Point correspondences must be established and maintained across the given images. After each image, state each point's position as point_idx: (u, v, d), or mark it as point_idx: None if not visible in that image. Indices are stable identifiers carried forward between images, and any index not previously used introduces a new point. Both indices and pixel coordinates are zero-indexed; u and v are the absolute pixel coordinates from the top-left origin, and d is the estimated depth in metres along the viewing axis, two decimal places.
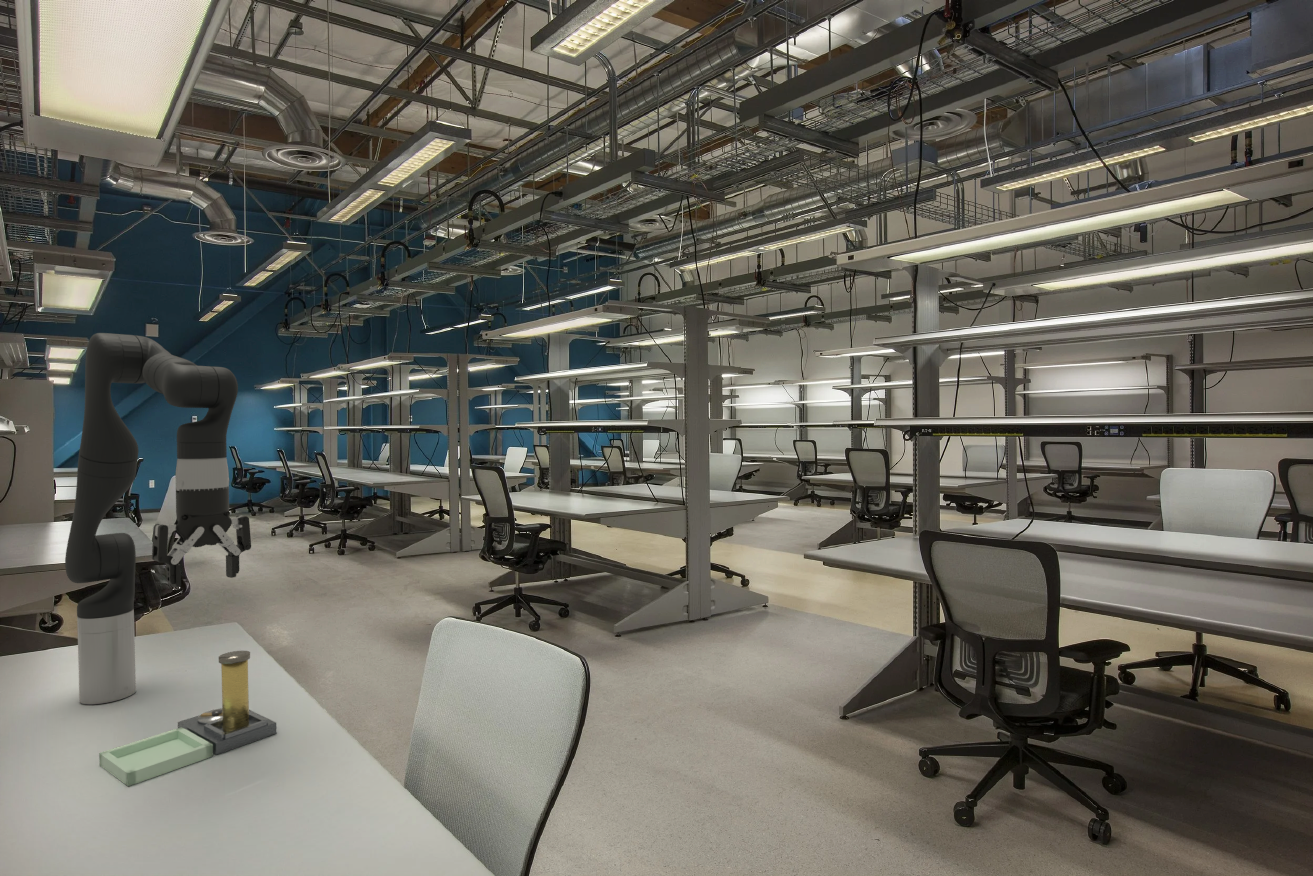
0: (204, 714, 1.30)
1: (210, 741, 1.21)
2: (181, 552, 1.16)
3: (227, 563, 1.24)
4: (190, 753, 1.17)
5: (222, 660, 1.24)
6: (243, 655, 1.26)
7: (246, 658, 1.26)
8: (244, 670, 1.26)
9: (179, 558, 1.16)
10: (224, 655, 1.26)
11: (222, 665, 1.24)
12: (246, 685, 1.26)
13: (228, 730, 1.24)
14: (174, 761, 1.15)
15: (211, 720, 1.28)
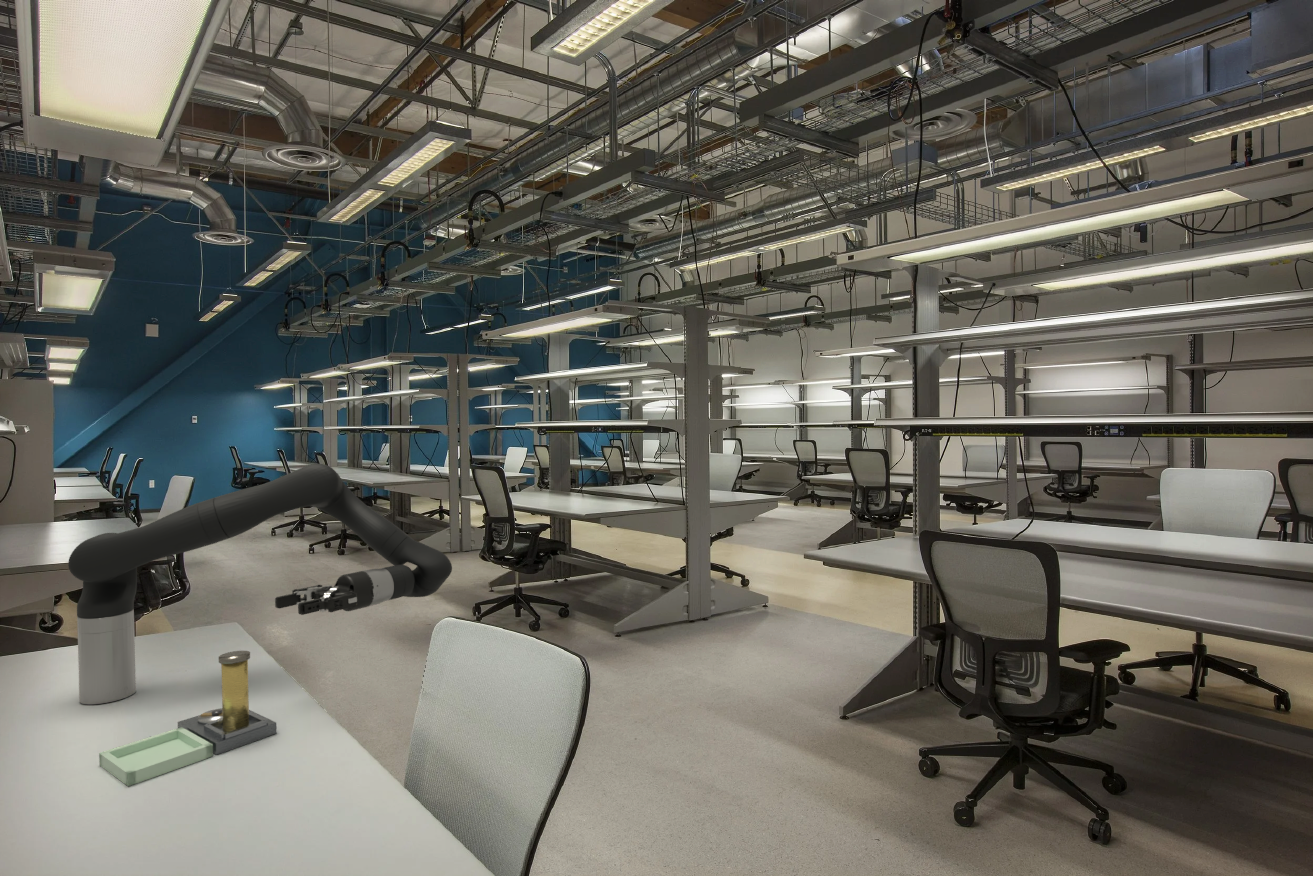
0: (204, 714, 1.30)
1: (210, 741, 1.21)
2: None
3: (289, 598, 1.40)
4: (190, 753, 1.17)
5: (222, 660, 1.24)
6: (243, 655, 1.26)
7: (246, 658, 1.26)
8: (244, 670, 1.26)
9: None
10: (224, 655, 1.26)
11: (222, 665, 1.24)
12: (246, 685, 1.26)
13: (228, 730, 1.24)
14: (174, 761, 1.15)
15: (211, 720, 1.28)
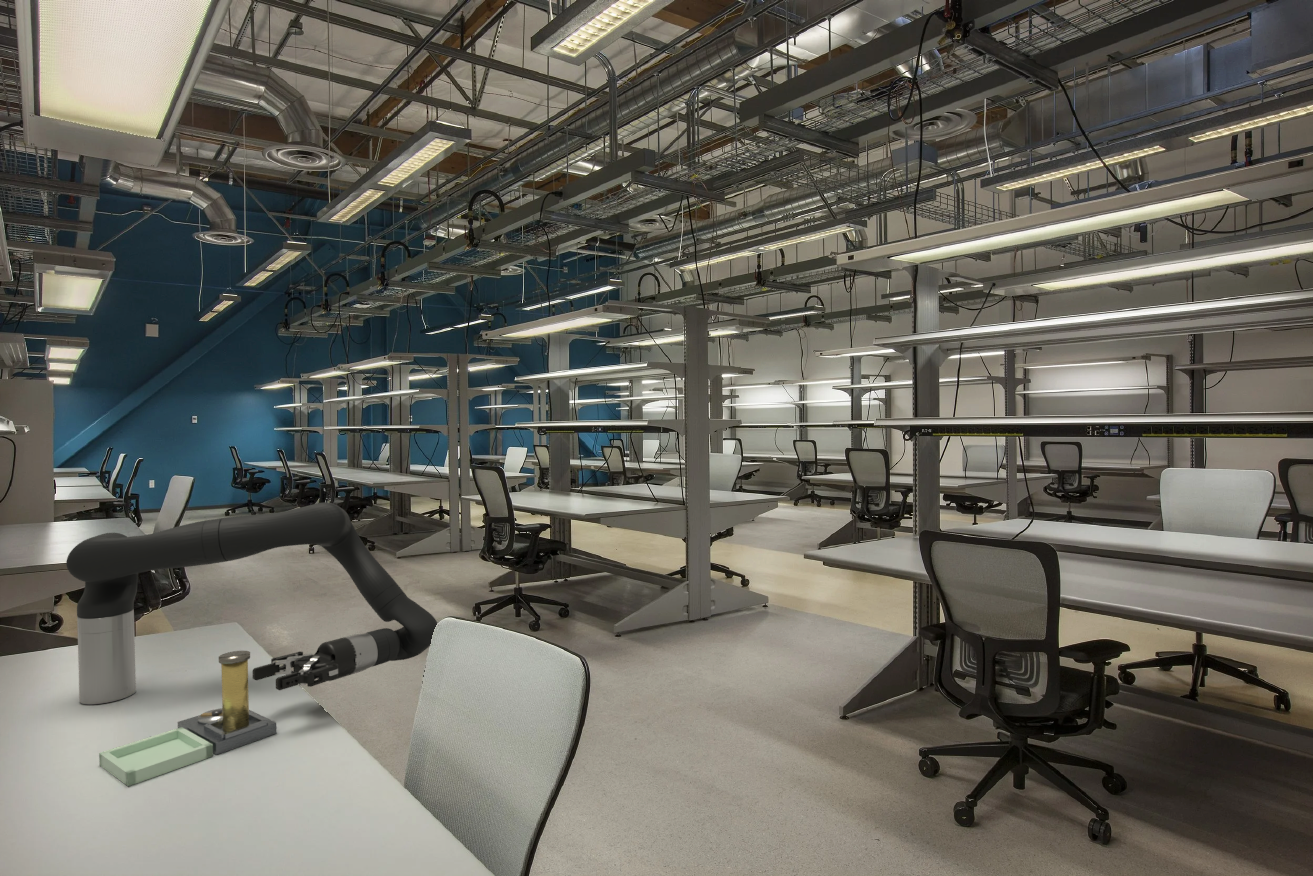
0: (204, 714, 1.30)
1: (210, 741, 1.21)
2: None
3: (267, 668, 1.35)
4: (190, 753, 1.17)
5: (222, 660, 1.24)
6: (243, 655, 1.26)
7: (246, 658, 1.26)
8: (244, 670, 1.26)
9: None
10: (224, 655, 1.26)
11: (222, 665, 1.24)
12: (246, 685, 1.26)
13: (228, 730, 1.24)
14: (174, 761, 1.15)
15: (211, 720, 1.28)
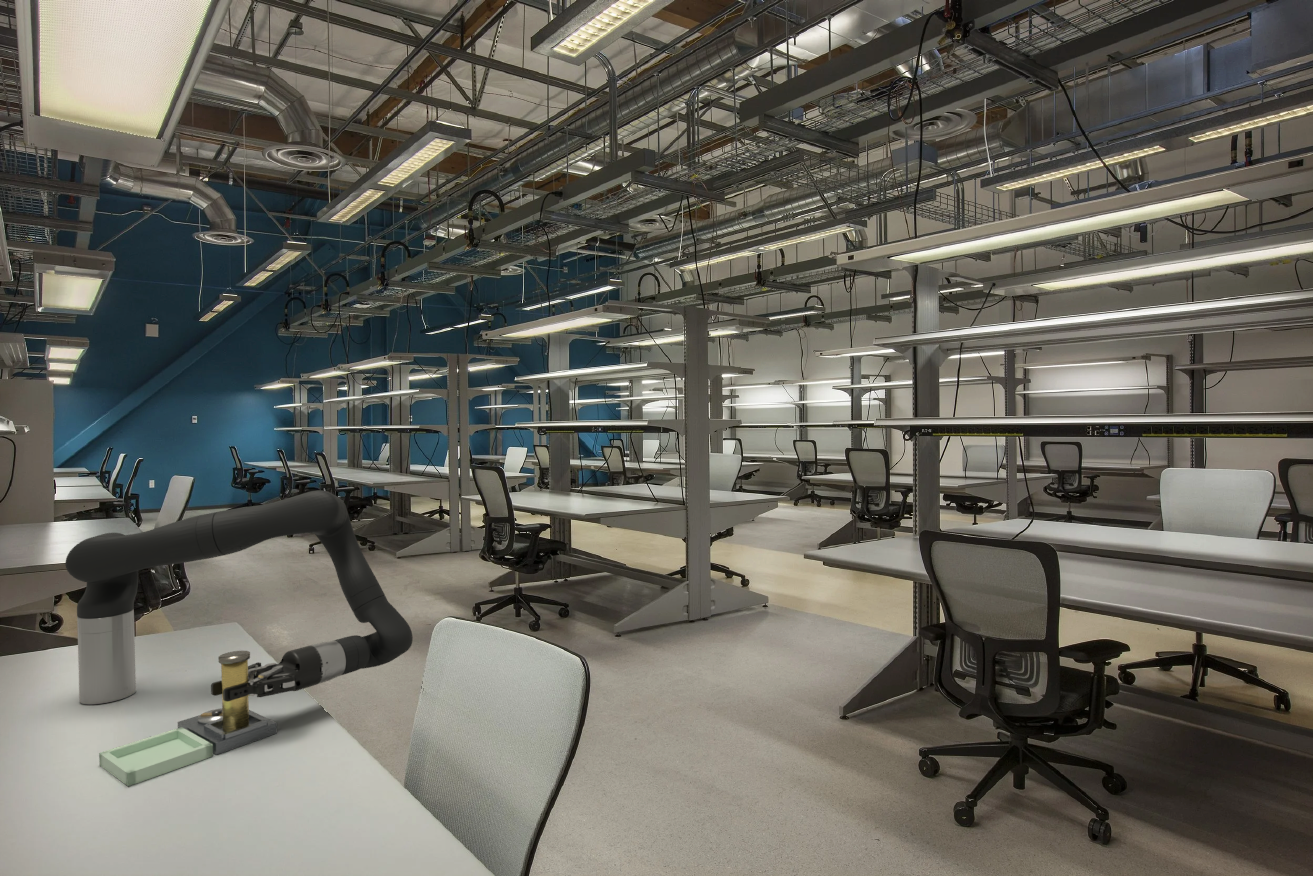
0: (204, 714, 1.30)
1: (210, 741, 1.21)
2: None
3: None
4: (190, 753, 1.17)
5: (222, 660, 1.24)
6: (243, 655, 1.26)
7: (246, 658, 1.26)
8: (244, 670, 1.26)
9: None
10: (224, 655, 1.26)
11: (222, 665, 1.24)
12: None
13: (228, 730, 1.24)
14: (174, 761, 1.15)
15: (211, 720, 1.28)
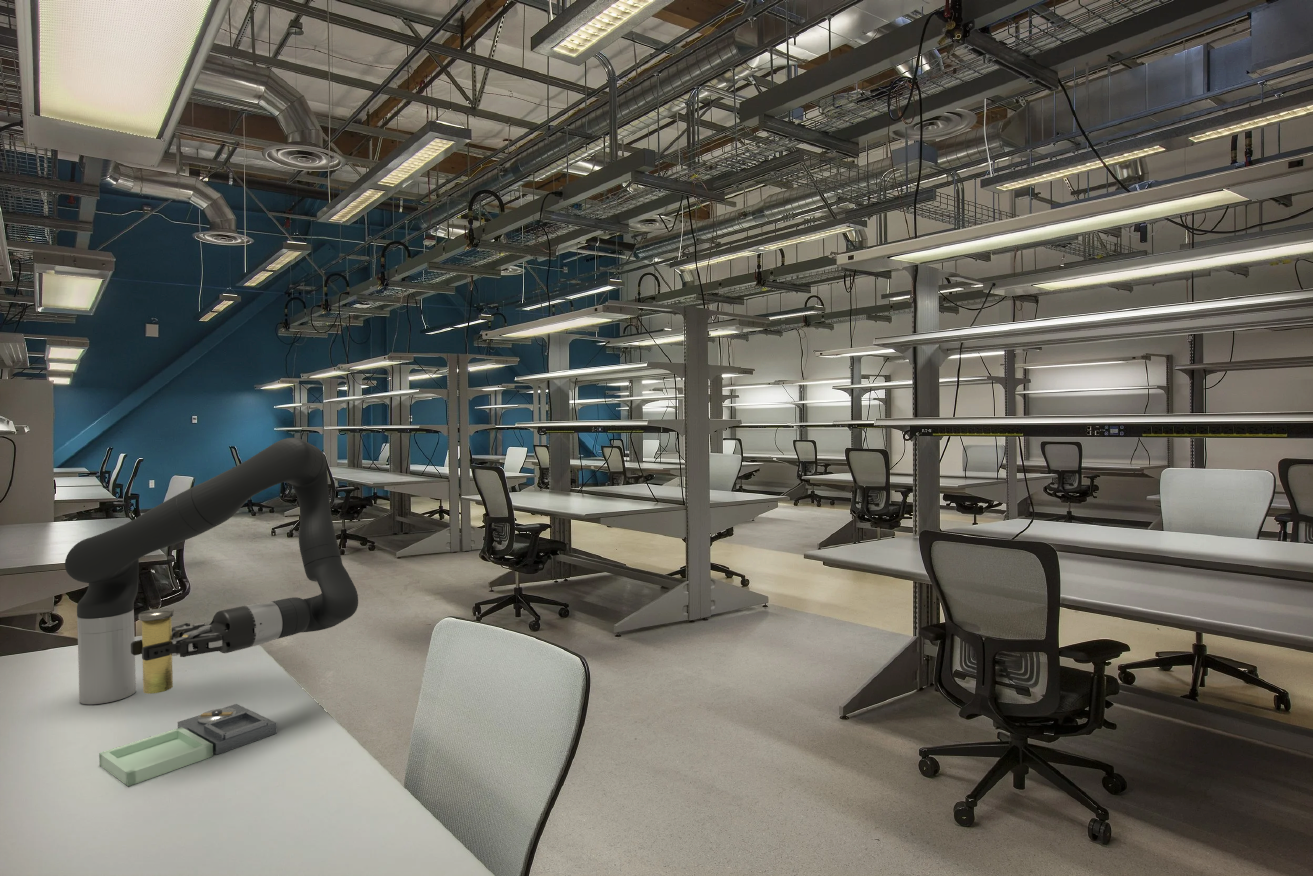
0: (204, 714, 1.30)
1: (210, 741, 1.21)
2: None
3: None
4: (190, 753, 1.17)
5: (142, 617, 1.16)
6: (165, 612, 1.18)
7: (169, 615, 1.17)
8: (167, 628, 1.18)
9: None
10: (145, 612, 1.18)
11: (142, 622, 1.16)
12: None
13: (148, 692, 1.16)
14: (174, 761, 1.15)
15: (211, 720, 1.28)
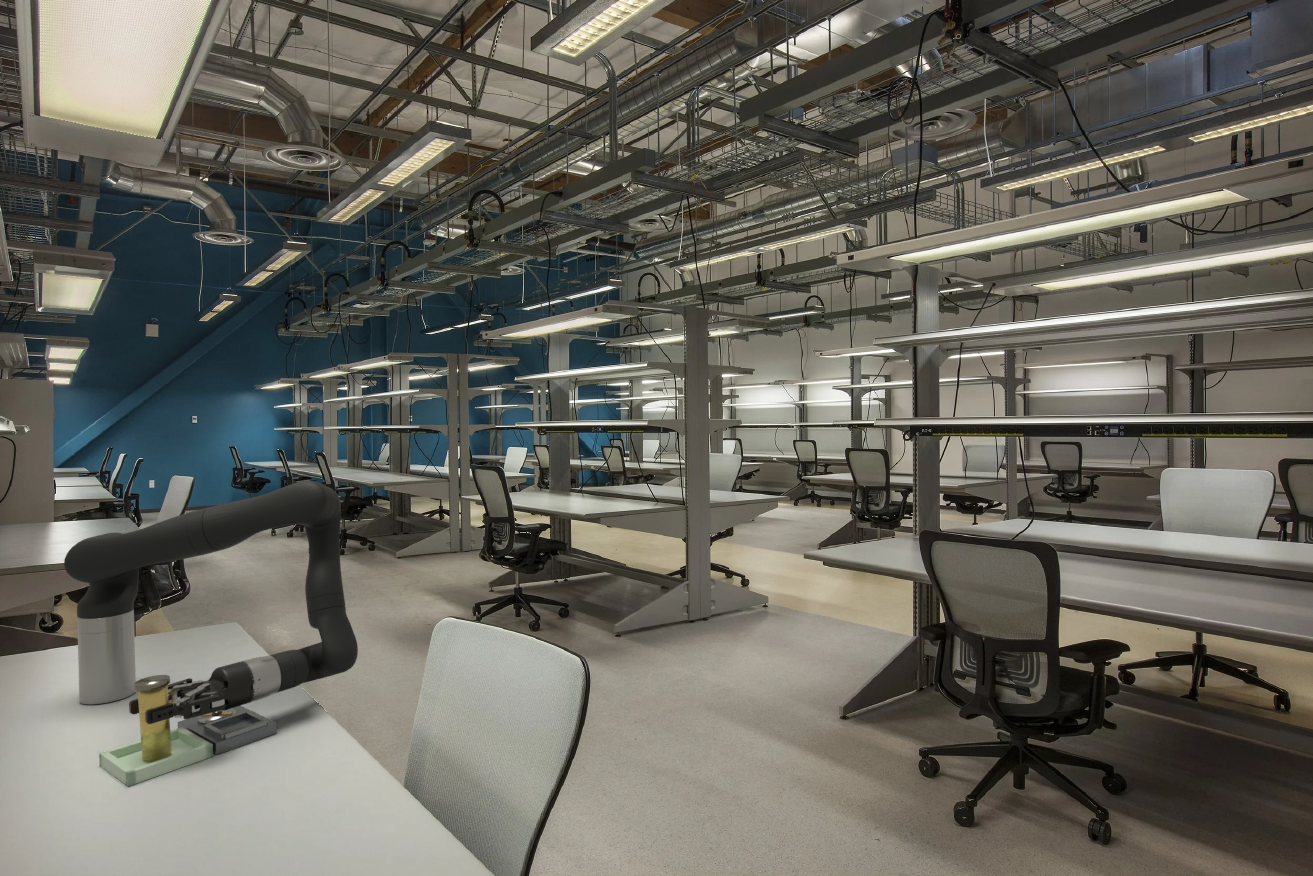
0: (204, 714, 1.30)
1: (210, 741, 1.21)
2: None
3: None
4: (190, 753, 1.17)
5: (137, 687, 1.15)
6: (161, 680, 1.17)
7: (164, 684, 1.17)
8: (163, 696, 1.17)
9: None
10: (141, 681, 1.17)
11: (138, 692, 1.16)
12: None
13: (147, 761, 1.16)
14: (174, 761, 1.15)
15: (211, 720, 1.28)
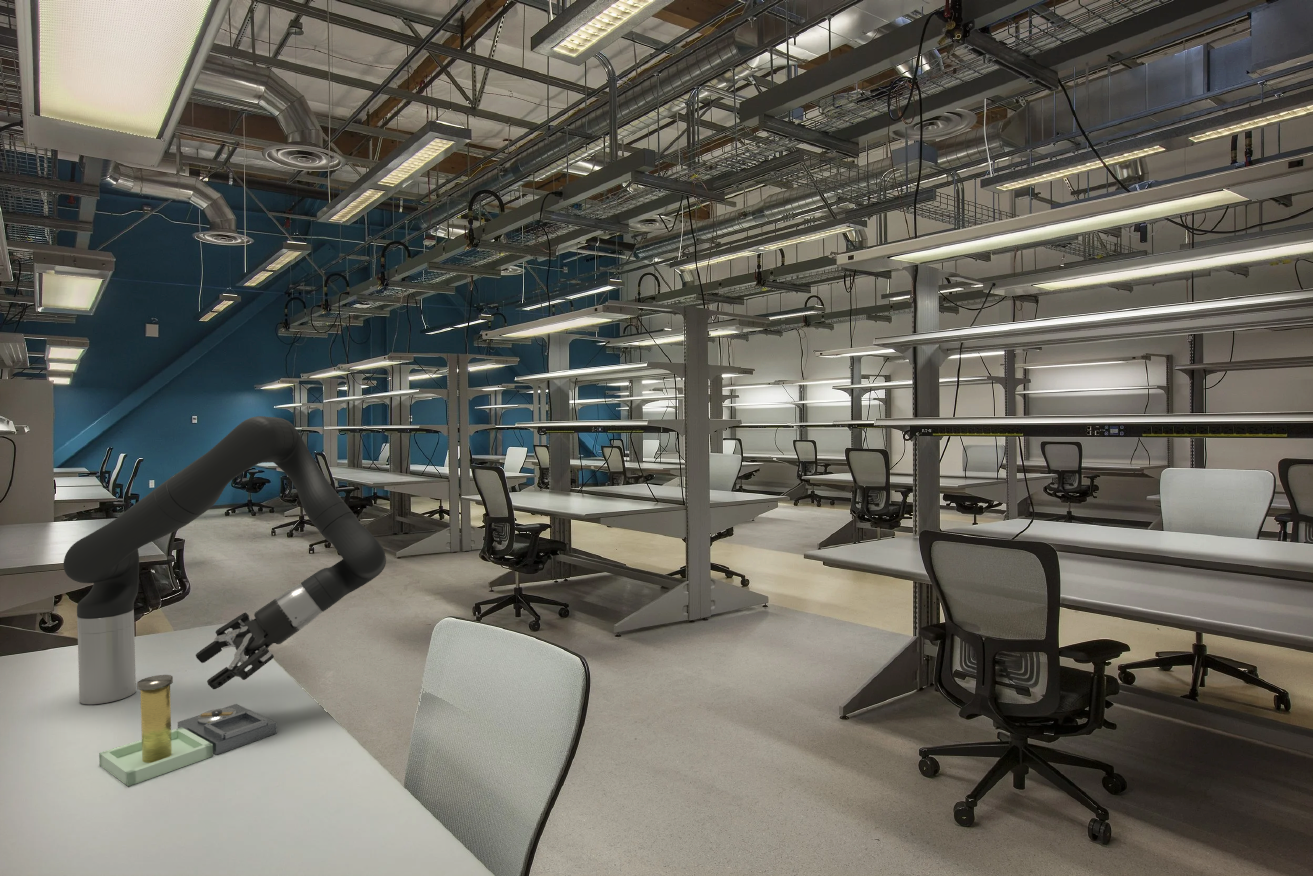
0: (204, 714, 1.30)
1: (210, 741, 1.21)
2: None
3: (209, 650, 1.31)
4: (190, 753, 1.17)
5: (140, 686, 1.16)
6: (164, 680, 1.18)
7: (167, 683, 1.17)
8: (165, 696, 1.18)
9: None
10: (144, 680, 1.18)
11: (141, 691, 1.16)
12: (168, 712, 1.18)
13: (147, 761, 1.16)
14: (174, 761, 1.15)
15: (211, 720, 1.28)
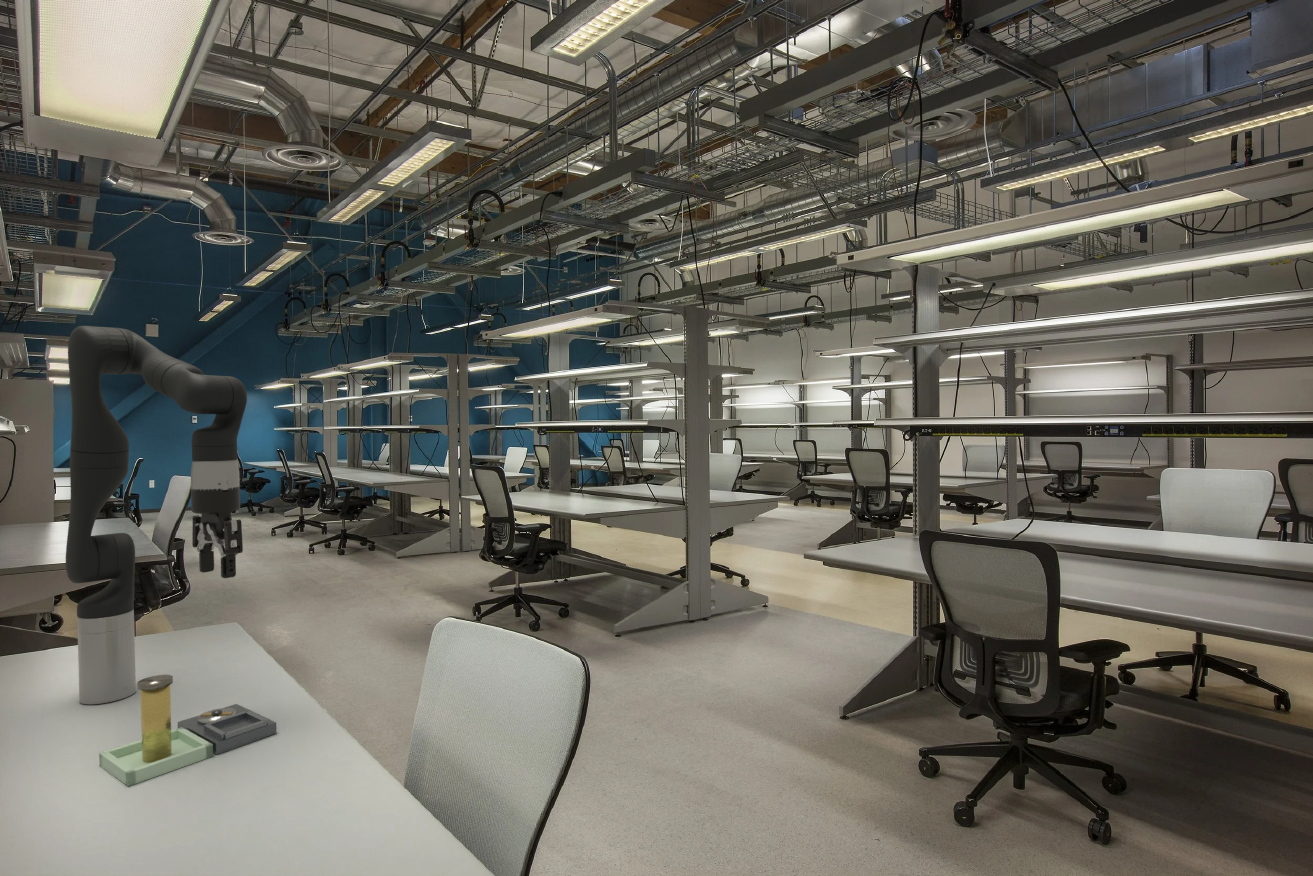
0: (204, 714, 1.30)
1: (210, 741, 1.21)
2: None
3: (204, 559, 1.32)
4: (190, 753, 1.17)
5: (140, 686, 1.16)
6: (164, 680, 1.18)
7: (167, 683, 1.17)
8: (166, 696, 1.18)
9: None
10: (144, 680, 1.18)
11: (141, 691, 1.16)
12: (168, 712, 1.18)
13: (147, 761, 1.16)
14: (174, 761, 1.15)
15: (211, 720, 1.28)
